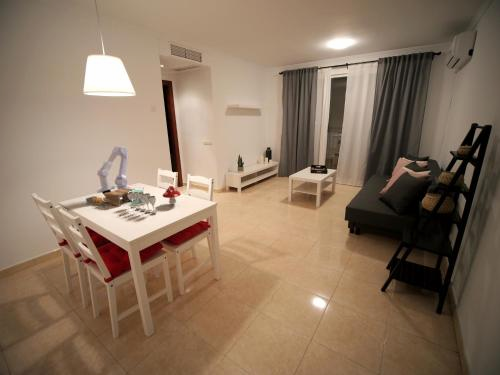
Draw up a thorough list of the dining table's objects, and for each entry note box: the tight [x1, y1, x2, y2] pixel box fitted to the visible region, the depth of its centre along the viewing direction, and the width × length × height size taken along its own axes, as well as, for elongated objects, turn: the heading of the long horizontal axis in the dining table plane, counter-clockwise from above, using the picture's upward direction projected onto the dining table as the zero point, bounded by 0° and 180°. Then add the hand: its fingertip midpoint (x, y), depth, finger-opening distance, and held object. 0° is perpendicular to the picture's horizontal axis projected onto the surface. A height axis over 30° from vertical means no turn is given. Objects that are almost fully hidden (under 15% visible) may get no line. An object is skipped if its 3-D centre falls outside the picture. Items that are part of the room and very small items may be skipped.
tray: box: [85, 195, 107, 207], centre depth 186 cm, size 6×18×6 cm, turn 68°
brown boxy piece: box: [103, 188, 136, 207], centre depth 187 cm, size 17×14×10 cm
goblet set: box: [127, 191, 158, 214], centre depth 170 cm, size 28×6×13 cm, turn 63°
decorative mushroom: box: [162, 185, 182, 205], centre depth 182 cm, size 14×14×15 cm
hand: (107, 198), depth 194 cm, fingers closed
